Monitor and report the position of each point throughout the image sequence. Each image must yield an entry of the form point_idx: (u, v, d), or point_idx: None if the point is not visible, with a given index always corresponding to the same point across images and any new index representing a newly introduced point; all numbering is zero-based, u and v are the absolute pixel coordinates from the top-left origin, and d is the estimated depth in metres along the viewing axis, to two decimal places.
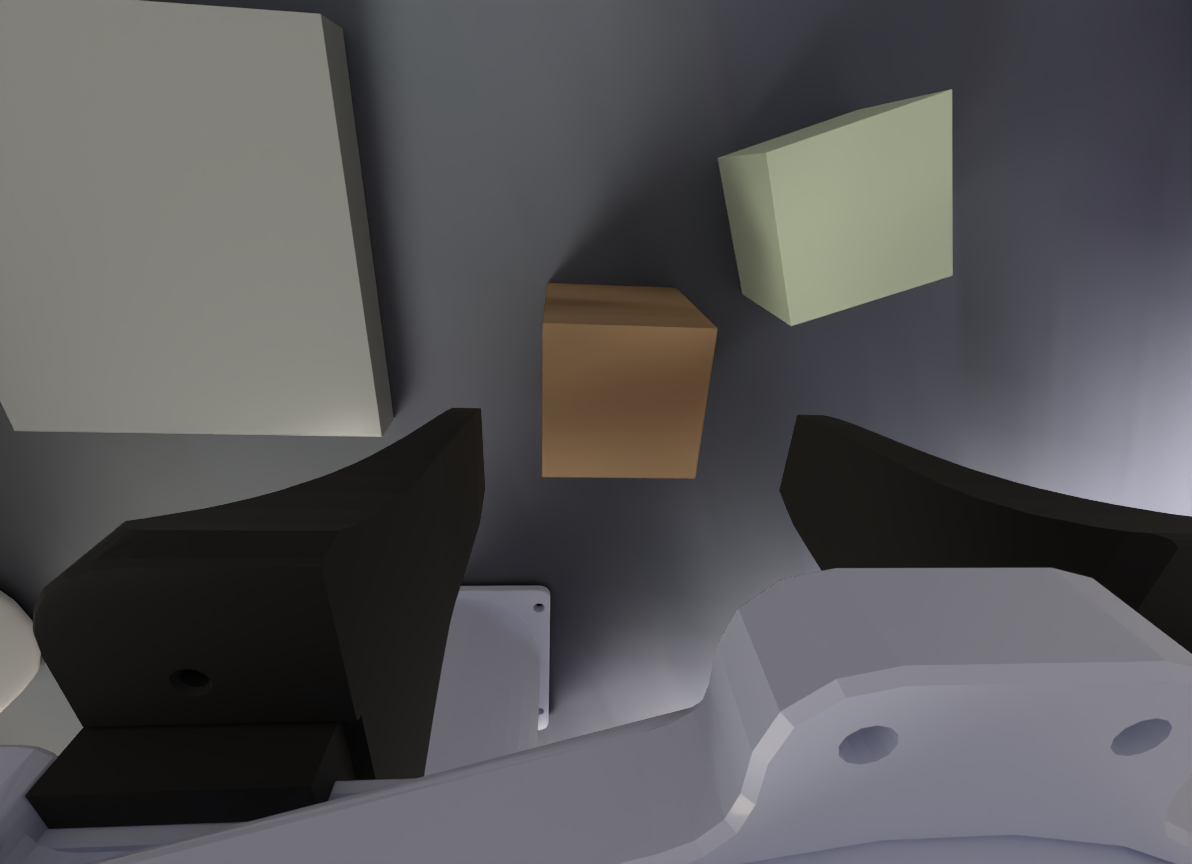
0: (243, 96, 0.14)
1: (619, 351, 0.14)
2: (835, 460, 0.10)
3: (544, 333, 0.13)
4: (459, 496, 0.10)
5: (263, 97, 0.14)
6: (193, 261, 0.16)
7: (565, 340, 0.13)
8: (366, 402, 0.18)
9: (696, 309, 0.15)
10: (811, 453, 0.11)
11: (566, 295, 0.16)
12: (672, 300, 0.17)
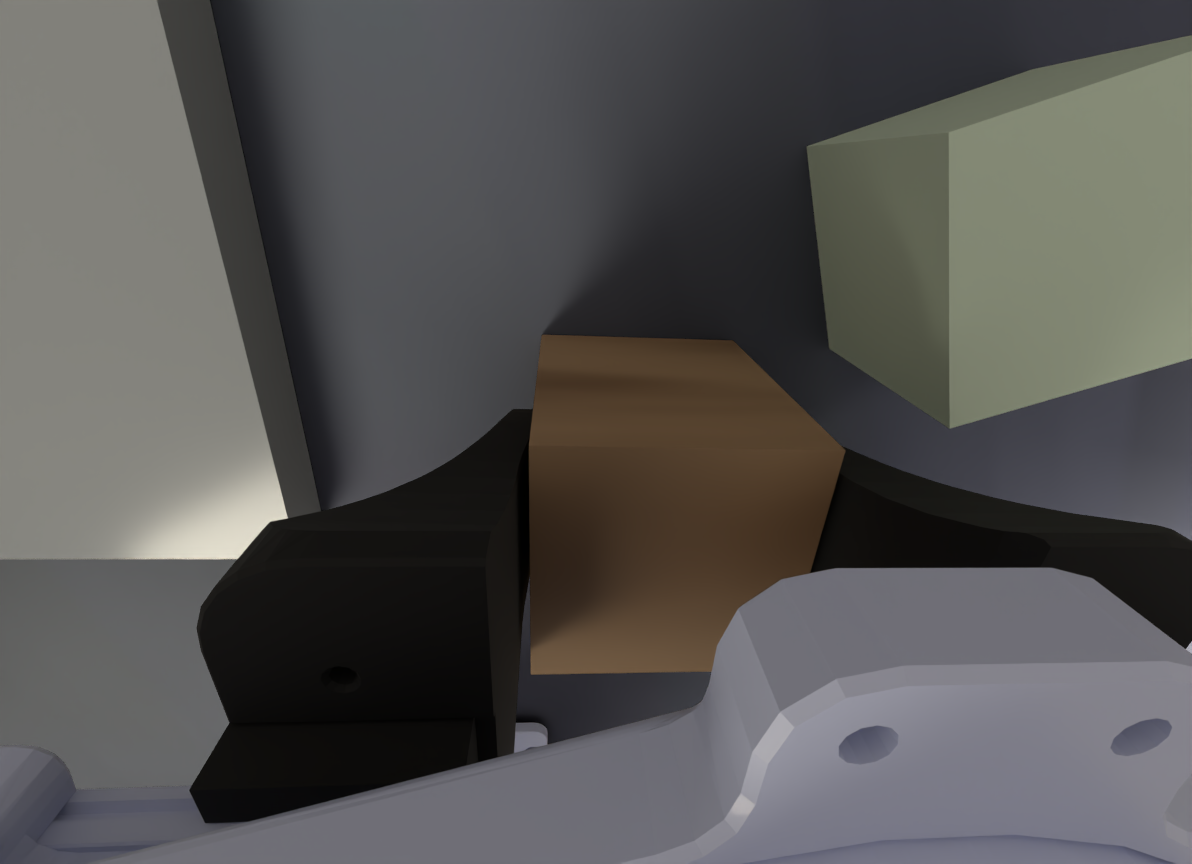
0: (7, 35, 0.08)
1: (667, 489, 0.08)
2: None
3: (532, 462, 0.07)
4: None
5: (43, 37, 0.08)
6: None
7: (570, 473, 0.07)
8: (271, 513, 0.12)
9: (785, 394, 0.09)
10: None
11: (571, 364, 0.10)
12: (738, 371, 0.10)
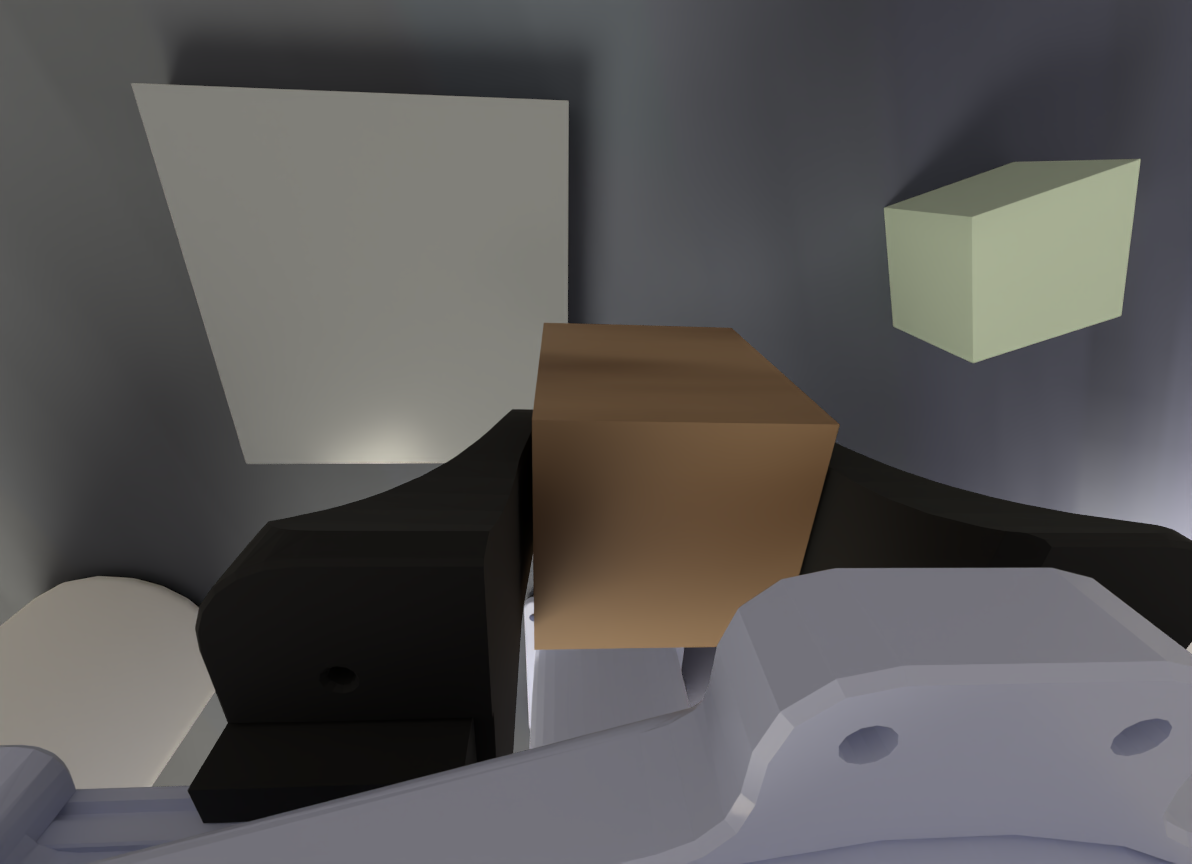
0: (491, 171, 0.16)
1: (666, 464, 0.08)
2: None
3: (535, 436, 0.08)
4: (529, 497, 0.10)
5: (508, 172, 0.16)
6: (426, 313, 0.18)
7: (572, 447, 0.08)
8: None
9: (781, 375, 0.10)
10: None
11: (572, 348, 0.11)
12: (736, 355, 0.11)
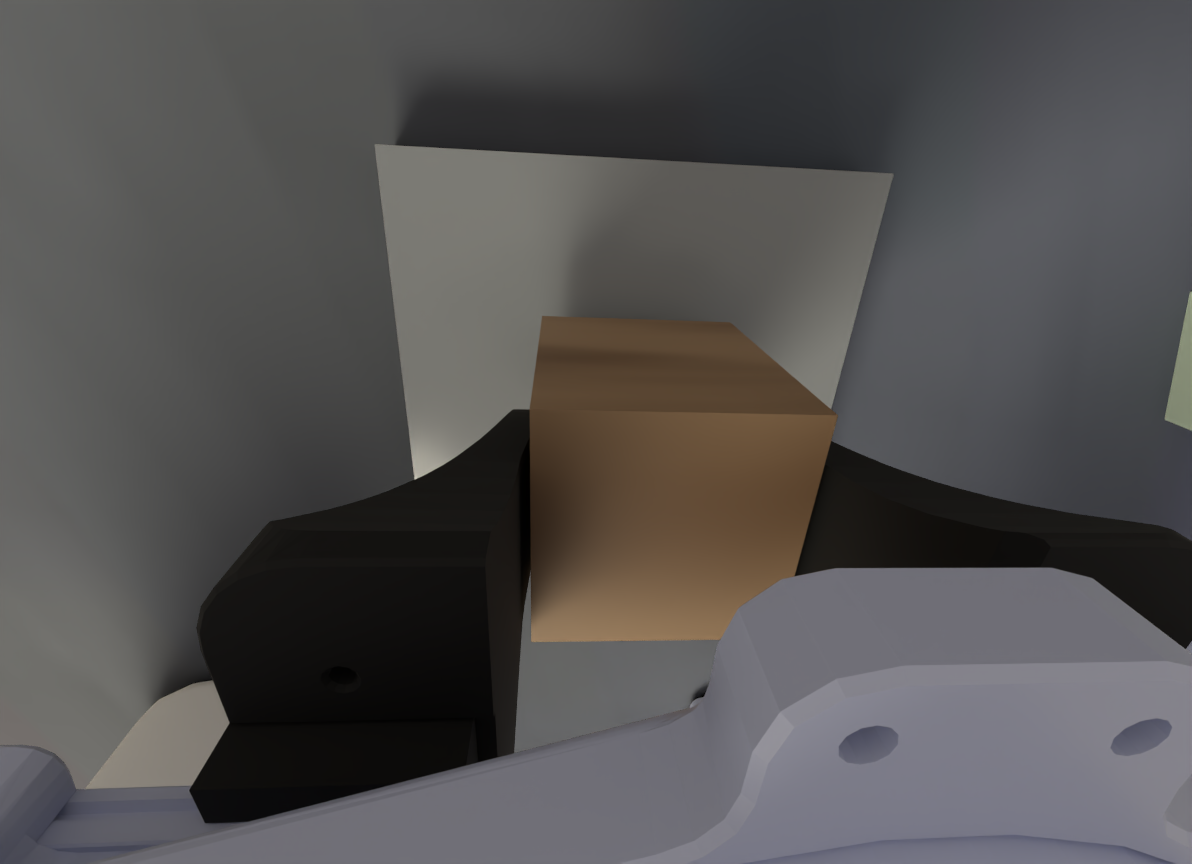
0: (782, 253, 0.13)
1: (664, 454, 0.08)
2: None
3: (533, 426, 0.08)
4: (529, 497, 0.10)
5: (802, 254, 0.13)
6: None
7: (570, 437, 0.08)
8: None
9: (780, 367, 0.10)
10: None
11: (570, 341, 0.11)
12: (735, 348, 0.11)
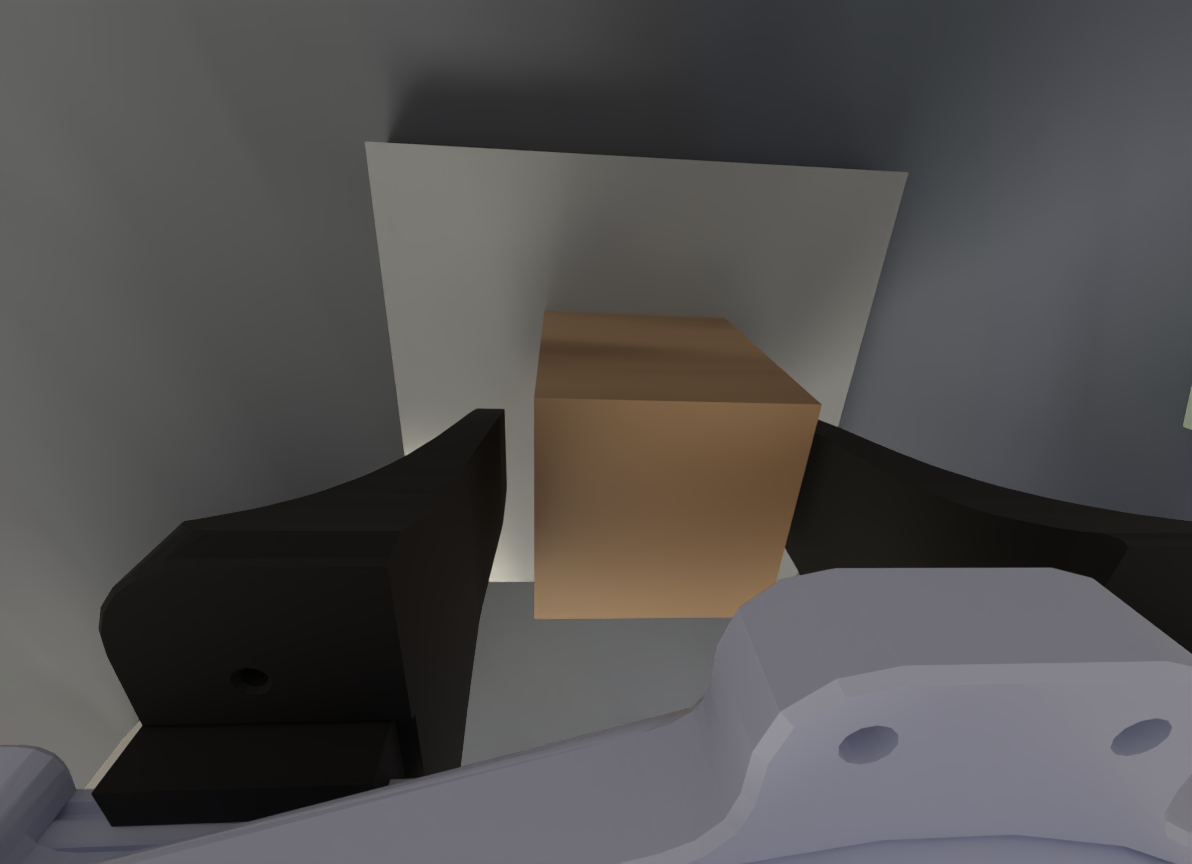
0: (791, 256, 0.13)
1: (660, 440, 0.08)
2: (810, 460, 0.10)
3: (537, 413, 0.08)
4: (487, 496, 0.10)
5: (812, 256, 0.13)
6: None
7: (571, 424, 0.08)
8: None
9: (770, 360, 0.10)
10: None
11: (572, 335, 0.11)
12: (728, 342, 0.11)
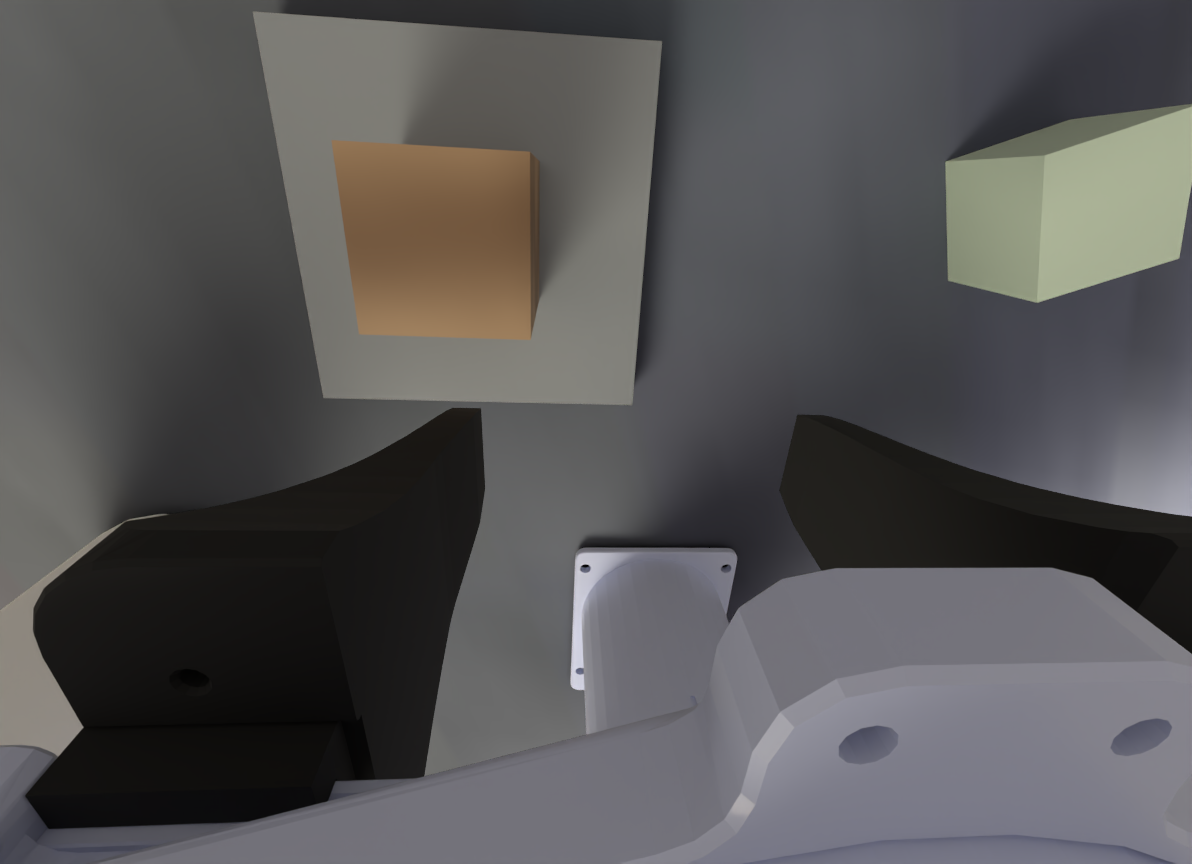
0: (583, 109, 0.17)
1: (423, 178, 0.12)
2: (835, 460, 0.10)
3: (335, 153, 0.12)
4: (459, 496, 0.10)
5: (600, 110, 0.17)
6: None
7: (360, 162, 0.12)
8: (625, 374, 0.21)
9: None
10: (811, 453, 0.11)
11: None
12: None
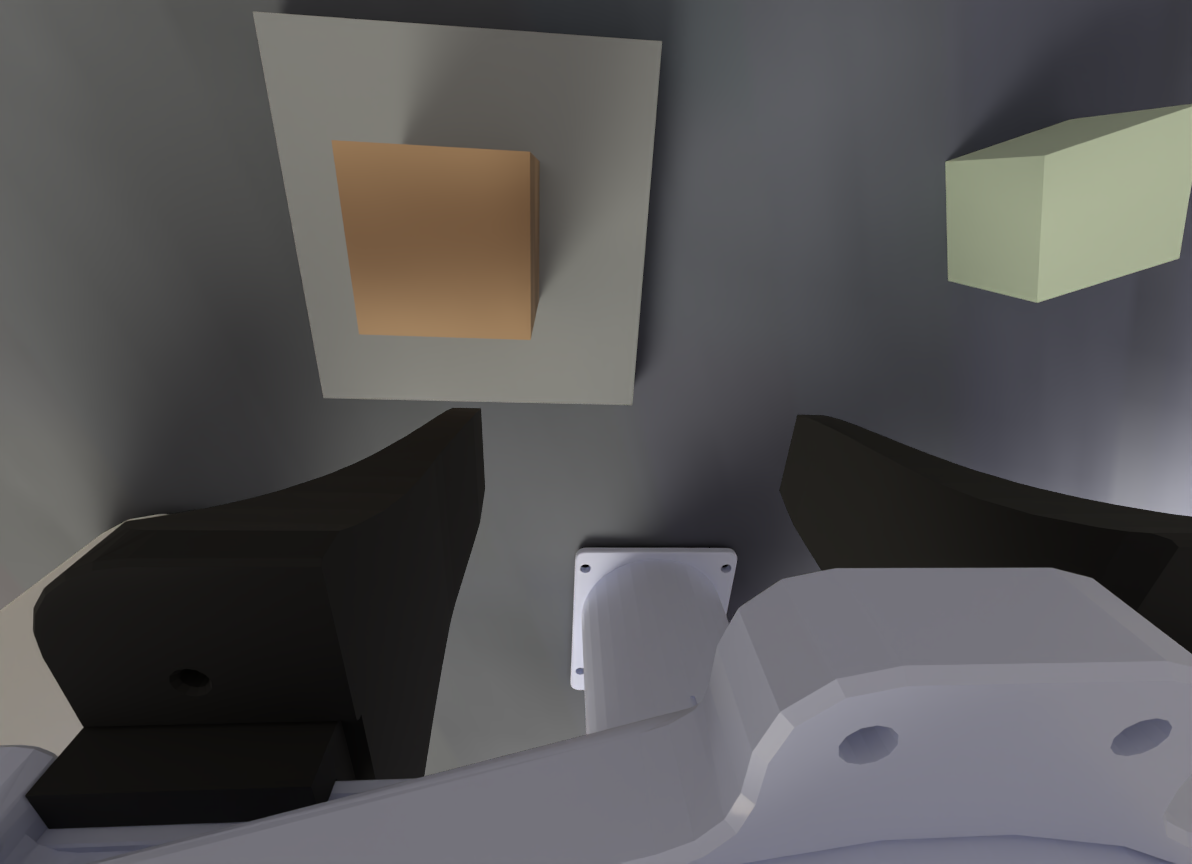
0: (583, 109, 0.17)
1: (423, 178, 0.12)
2: (835, 460, 0.10)
3: (335, 153, 0.12)
4: (459, 496, 0.10)
5: (600, 110, 0.17)
6: None
7: (360, 162, 0.12)
8: (625, 374, 0.21)
9: None
10: (811, 453, 0.11)
11: None
12: None
